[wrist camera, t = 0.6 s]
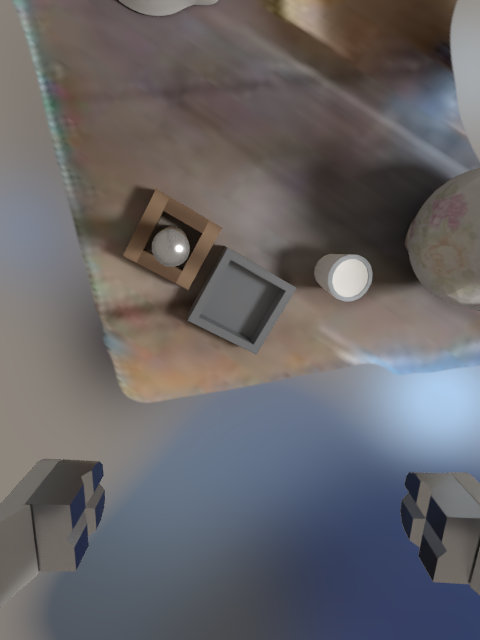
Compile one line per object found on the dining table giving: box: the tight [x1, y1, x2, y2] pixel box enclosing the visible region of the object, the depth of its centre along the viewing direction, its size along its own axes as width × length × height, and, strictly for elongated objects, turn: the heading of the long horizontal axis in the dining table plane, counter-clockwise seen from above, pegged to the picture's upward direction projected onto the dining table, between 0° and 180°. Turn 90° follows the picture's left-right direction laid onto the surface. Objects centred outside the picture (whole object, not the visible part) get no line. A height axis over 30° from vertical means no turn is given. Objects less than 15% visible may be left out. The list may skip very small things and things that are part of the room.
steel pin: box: [152, 226, 190, 267], centre depth 44 cm, size 4×4×14 cm
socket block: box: [123, 189, 222, 289], centre depth 49 cm, size 10×10×3 cm
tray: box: [187, 247, 296, 354], centre depth 53 cm, size 12×12×4 cm
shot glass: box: [314, 254, 373, 301], centre depth 53 cm, size 7×7×7 cm
